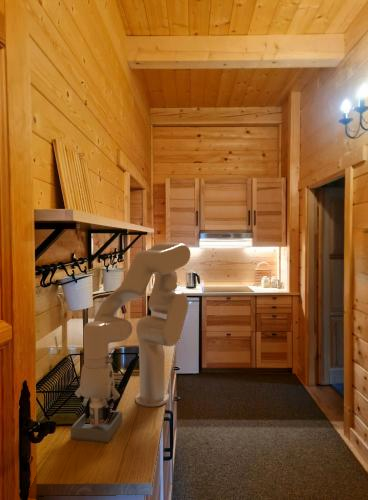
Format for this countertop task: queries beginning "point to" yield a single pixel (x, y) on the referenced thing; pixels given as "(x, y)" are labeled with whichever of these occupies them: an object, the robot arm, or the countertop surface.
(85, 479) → the countertop surface
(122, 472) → the countertop surface
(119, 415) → the bin
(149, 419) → the countertop surface
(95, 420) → the pill bottle
